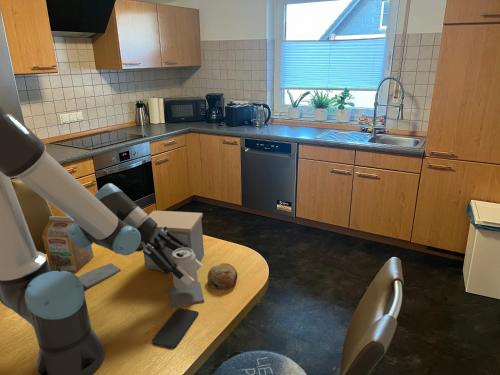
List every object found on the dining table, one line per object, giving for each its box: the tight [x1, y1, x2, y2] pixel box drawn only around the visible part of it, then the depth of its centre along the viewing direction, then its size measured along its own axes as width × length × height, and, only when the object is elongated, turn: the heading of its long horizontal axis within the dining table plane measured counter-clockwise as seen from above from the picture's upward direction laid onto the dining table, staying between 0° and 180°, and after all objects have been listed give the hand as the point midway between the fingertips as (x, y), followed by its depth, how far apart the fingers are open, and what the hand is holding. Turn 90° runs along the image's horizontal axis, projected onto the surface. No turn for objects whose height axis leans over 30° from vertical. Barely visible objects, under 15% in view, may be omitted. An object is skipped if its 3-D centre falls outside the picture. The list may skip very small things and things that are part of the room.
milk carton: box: [41, 215, 95, 274], centre depth 135 cm, size 11×11×19 cm
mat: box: [169, 281, 205, 308], centre depth 118 cm, size 10×10×1 cm
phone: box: [151, 307, 199, 349], centre depth 104 cm, size 7×1×15 cm
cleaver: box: [77, 262, 121, 292], centre depth 124 cm, size 30×10×2 cm, turn 145°
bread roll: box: [207, 262, 238, 290], centre depth 124 cm, size 10×10×8 cm
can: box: [171, 248, 199, 291], centre depth 115 cm, size 8×8×12 cm
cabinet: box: [142, 210, 205, 271], centre depth 133 cm, size 14×19×17 cm
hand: (195, 275), depth 115 cm, fingers closed on can, 7 cm apart
